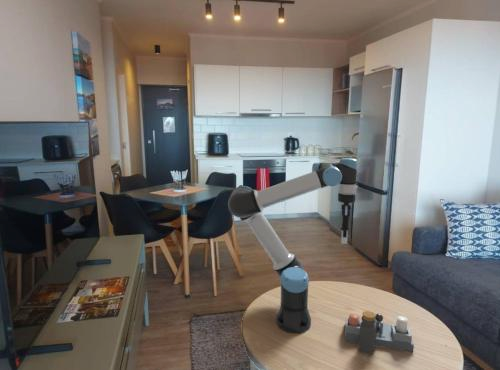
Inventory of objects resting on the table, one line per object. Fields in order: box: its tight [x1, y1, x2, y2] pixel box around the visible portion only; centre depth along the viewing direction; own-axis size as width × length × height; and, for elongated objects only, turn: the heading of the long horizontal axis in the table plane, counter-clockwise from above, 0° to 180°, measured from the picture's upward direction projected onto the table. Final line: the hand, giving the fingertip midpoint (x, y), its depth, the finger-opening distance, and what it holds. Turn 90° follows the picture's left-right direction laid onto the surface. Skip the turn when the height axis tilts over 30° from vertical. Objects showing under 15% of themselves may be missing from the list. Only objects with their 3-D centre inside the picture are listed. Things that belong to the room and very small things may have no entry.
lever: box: [375, 313, 384, 330], centre depth 133 cm, size 3×3×12 cm
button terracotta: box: [348, 313, 360, 327], centre depth 136 cm, size 4×4×5 cm
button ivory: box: [395, 315, 409, 334], centre depth 131 cm, size 4×4×5 cm
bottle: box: [358, 310, 376, 355], centre depth 128 cm, size 6×6×15 cm
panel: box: [344, 317, 415, 352], centre depth 136 cm, size 25×12×7 cm, turn 75°
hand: (344, 243), depth 153 cm, fingers closed
